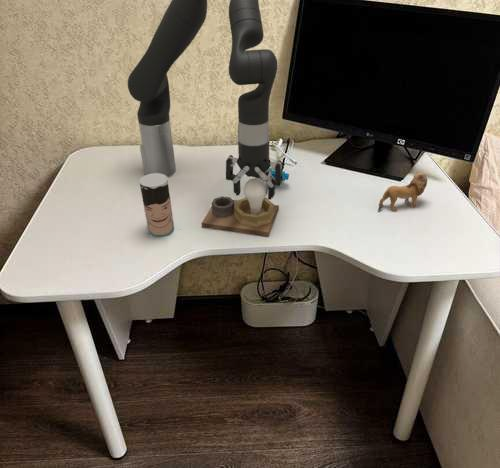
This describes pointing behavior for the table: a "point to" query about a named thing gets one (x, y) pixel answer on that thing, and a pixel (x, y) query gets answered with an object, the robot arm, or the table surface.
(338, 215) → the table surface
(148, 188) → the face-printed can
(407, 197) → the lion figurine
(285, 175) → the gear
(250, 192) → the lightbulb
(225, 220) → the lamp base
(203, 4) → the robot arm
